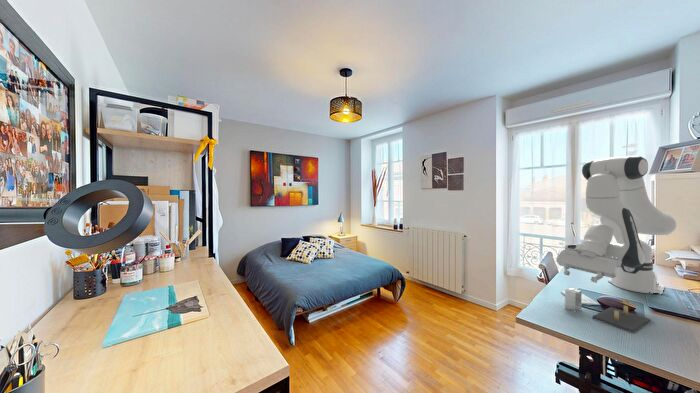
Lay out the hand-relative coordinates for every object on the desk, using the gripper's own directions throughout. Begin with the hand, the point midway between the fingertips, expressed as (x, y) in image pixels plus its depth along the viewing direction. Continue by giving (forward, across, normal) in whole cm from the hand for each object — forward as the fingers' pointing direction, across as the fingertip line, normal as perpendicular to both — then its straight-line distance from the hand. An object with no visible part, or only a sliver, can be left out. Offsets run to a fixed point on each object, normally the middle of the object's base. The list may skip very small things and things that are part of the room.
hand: (579, 277), depth 108 cm
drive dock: (+9, -14, -8) cm, 18 cm away
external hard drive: (+4, +2, -14) cm, 15 cm away
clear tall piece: (+13, 0, -4) cm, 14 cm away
